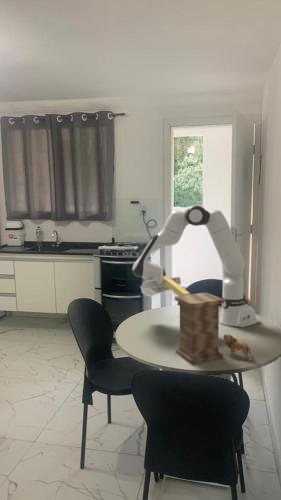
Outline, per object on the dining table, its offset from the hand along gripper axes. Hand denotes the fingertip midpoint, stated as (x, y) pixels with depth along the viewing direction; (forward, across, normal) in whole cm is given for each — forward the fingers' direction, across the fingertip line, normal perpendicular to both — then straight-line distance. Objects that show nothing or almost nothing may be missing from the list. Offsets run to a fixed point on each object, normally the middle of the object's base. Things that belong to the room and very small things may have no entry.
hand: (167, 280), depth 196 cm
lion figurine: (+25, +15, +40) cm, 49 cm away
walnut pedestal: (+17, 0, +37) cm, 40 cm away
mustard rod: (+6, 0, +6) cm, 8 cm away
